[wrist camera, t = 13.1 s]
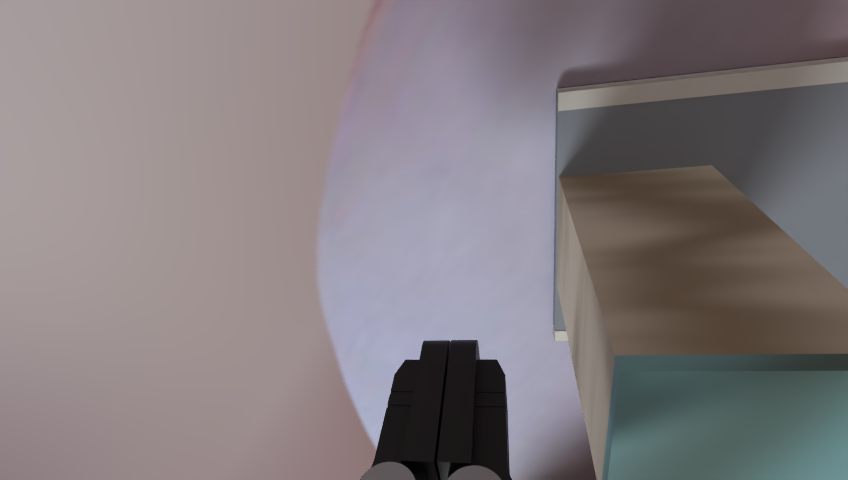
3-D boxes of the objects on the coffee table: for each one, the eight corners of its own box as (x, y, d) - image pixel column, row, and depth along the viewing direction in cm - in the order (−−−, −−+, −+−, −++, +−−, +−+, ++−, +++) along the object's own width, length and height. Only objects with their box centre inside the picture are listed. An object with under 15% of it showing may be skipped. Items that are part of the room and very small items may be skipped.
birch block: (711, 165, 15) (936, 370, 7) (688, 283, 18) (837, 525, 10) (558, 177, 16) (620, 371, 8) (557, 287, 18) (603, 513, 11)
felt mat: (1079, 31, 12) (1101, 34, 12) (911, 327, 18) (922, 337, 17) (556, 88, 15) (558, 92, 14) (553, 332, 20) (554, 341, 20)
